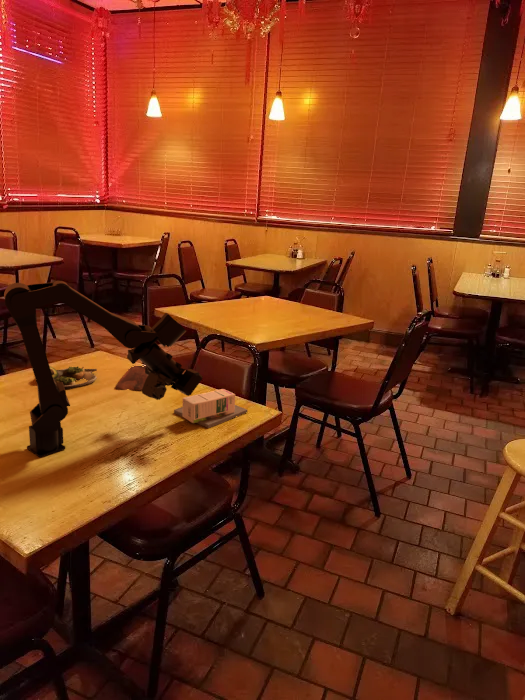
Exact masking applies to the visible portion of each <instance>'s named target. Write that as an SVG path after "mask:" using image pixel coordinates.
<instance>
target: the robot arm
mask: <svg viewBox="0 0 525 700" xmlns="http://www.w3.org/2000/svg"><path fill="white" fill-rule="evenodd" d="M3 297H4V304H5V307H6V309H7V310H8V312H9V314H10V316H11V318H12V319H13V321H14V322H15V324H16V326H17V328H18V330H19V331H20V334H21V338H22V341H23V344H24V347H25V350H26V353H27V356H28V360H29V363H30V366H31V368H32V372H33V375H34V380H35V381H36V388H37V396H38V397H37V398H38V403H37V404H36V405H35V406H34V407H33V408H32V409H31V410H30V411H29V414H30V415H29V416H30V422H31V425H29V426H28V434H29V445H27V446H26V449H27V450H28V451H30V452H31V453H33V454H34V455H35V456H37V457H39V458H43V457H46V456H49V455H52V454H54V453H57V452H61V451H63V450H66V445H64V428H63V427H62V423H61V422H62V421H63V420H64V419H66V417H67V416H68V413H69V409H68V407H71V404H70V401H69V398H68V395H67V392H66V389H65V388H64V385H63V382H61V383H58V384H56V382H55V380H54V379H53V376H52V373H51V370H50V367H51V365H50V363H49V361H48V358H47V353H46V350H45V348H44V344H43V341H42V338H41V335H40V332H39V331H40V330H39V328H38V320H37V318H38V317H37V309H36V308H41V307H44V306H48V305H51V304H54V303H58V302H61V303H63V304H65V305H66V306H68V307H70V308H71V309H72V310H74V311H76V312H78V313H79V314H81V315H83V316H84V317H86V318H88V319H89V320H91V321H92V322H94V323H96V324H97V325H99V326H100V327H101V328H104V330H106V331H107V332H108V333H109V334H110V335H112V336H113V338H115V339H116V340H117V341H118V342H119V343H120V344H122V345H123V346H124V347H125V348H128V350H127V355H126V356H127V357H126V358H127V360H128V361H129V362H130V363H131V364H132V365H135V364H136V363H137V361H140V362H142V363H143V365H146V366H147V367H146V368H145V373H146V374H147V375H148V377H147V378H146V381H145V383H144V386H143V388H142V391H141V394H143V395H144V396H146V397H148V398H150V399H155V400H157V401H158V400H159V401H160V400H161V399H163V398H165V395H166V392H167V389H168V388H167V387H169V386H170V389H172V390H175V391H179V392H180V393H181V394H183V395H186V397H189V396H192V394H193V393H194V391H195V390H196V388H197V387H198V386H199V384H200V383H201V381H203V375H202V374H201V373H200V372H199V371H197V370H194V369H192V368H189V369H185V368H184V367H183V365H182V364H181V363H180V362H177V361H176V360H174V359H173V358H174V356H173V355H172V354H171V353H168V352H166V351H165V350H164V349H163V348H162V346H163V347H164V348H166V347H167V348H169V347H172V346H173V345H174V344H175V343H177V341H178V340H179V339H181V337H182V336H183V335H184V334H185V333H186V332H187V330H186V329H185V328H184V327H183V326H182V325H181V323H180V322H178V321H177V320H175V319H174V318H173V317H172V316H171V315H170V314H169V313H168V312H164V313H163V315H162V316H161V318H160V319H159V320H158V321H157V322H156V323H155V324H154V325H153V326H152V327H151V326H150V325H147V324H146V325H144V324H138V323H136V321H134V320H132V319H130V318H127V317H124V316H122V315H119V314H115V313H113V312H110V311H109V310H107V309H105V308H104V307H103V306H101V305H99V304H98V303H97V302H94V301H93V300H92V299H90V298H88V297H87V296H85V295H84V294H82V293H81V292H79V291H77V290H76V289H74V288H73V287H71V286H70V285H68V283H67V282H65V281H63V280H57V281H56V280H55V281H54V282H53V281H52V282H42V283H33V284H32V283H31V284H25V283H22V282H14V283H11V284H9V285H8V286H7V287H6V288H5V290H4V294H3ZM157 342H159V344H160V345H162V346H160V345H159V344H158V343H157ZM166 386H167V387H166Z"/></svg>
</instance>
